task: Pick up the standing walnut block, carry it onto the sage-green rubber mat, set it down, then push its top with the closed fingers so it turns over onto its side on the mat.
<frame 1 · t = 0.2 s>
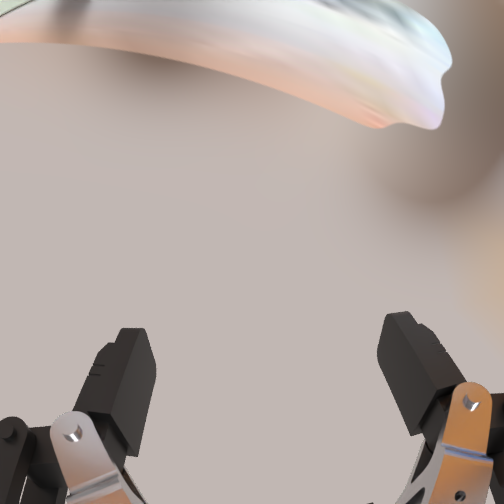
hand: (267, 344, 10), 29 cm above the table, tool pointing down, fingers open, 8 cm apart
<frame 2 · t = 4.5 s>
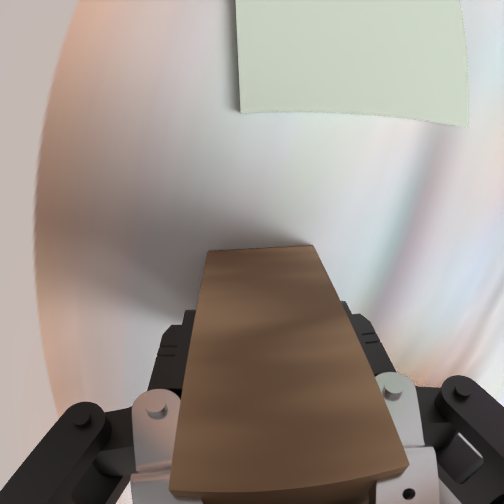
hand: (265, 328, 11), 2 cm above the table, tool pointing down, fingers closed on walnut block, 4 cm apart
walnut block: (262, 293, 13), on the table, touching gripper
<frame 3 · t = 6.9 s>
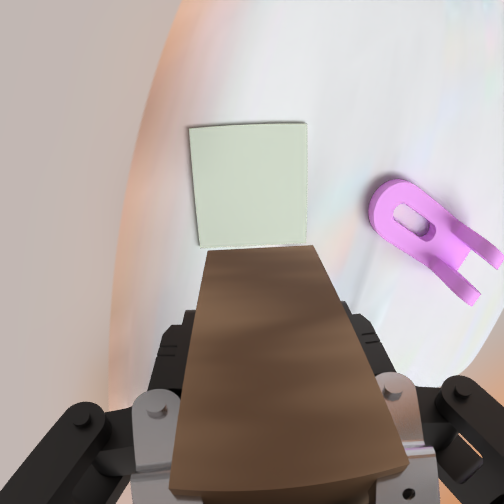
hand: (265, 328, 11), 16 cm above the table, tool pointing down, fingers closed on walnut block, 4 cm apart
walnut block: (262, 292, 13), point 14 cm above the table, touching gripper
bracket: (420, 226, 27), on the table
mat: (250, 186, 25), on the table
when the fingers open (4 cm above the table, at t = 9.4 s): walnut block stays where it is, resting on mat.
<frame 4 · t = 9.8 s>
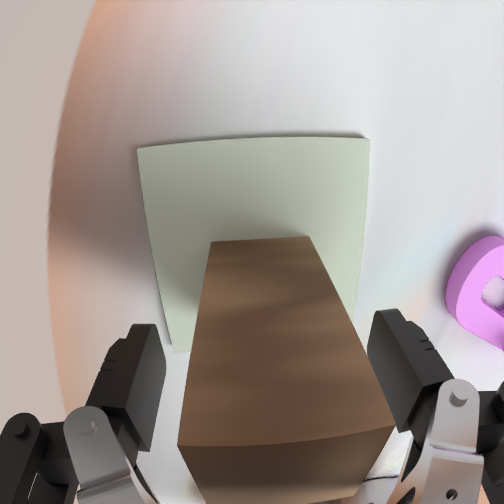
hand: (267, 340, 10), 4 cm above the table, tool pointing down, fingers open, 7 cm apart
walnut block: (261, 281, 14), resting on mat
bracket: (501, 296, 16), on the table
mat: (258, 256, 14), on the table
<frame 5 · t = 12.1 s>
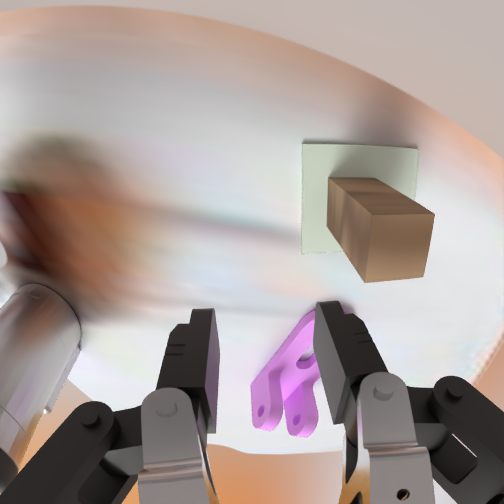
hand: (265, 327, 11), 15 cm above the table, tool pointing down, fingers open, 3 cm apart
walnut block: (351, 201, 24), resting on mat
bracket: (302, 352, 32), on the table
mat: (361, 199, 25), on the table
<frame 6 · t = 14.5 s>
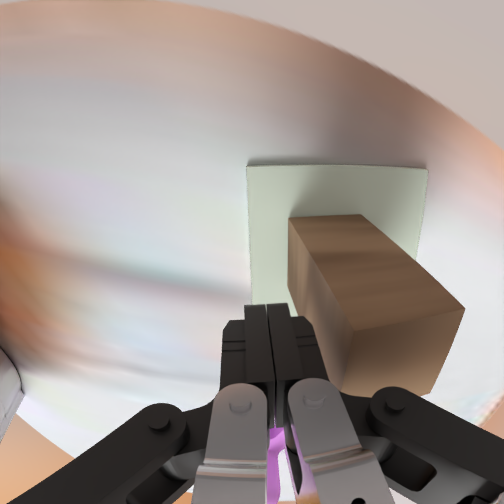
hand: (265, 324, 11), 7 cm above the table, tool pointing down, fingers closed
walnut block: (323, 250, 17), point 1 cm above the table, touching gripper, mat
bracket: (264, 420, 25), on the table
mat: (339, 244, 17), on the table
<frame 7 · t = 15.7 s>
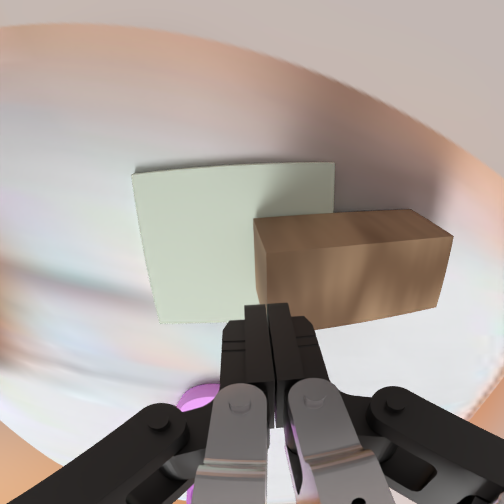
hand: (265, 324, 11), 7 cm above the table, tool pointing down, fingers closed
walnut block: (260, 274, 14), point 3 cm above the table, tilted 95°, touching mat
bracket: (199, 424, 24), on the table
mat: (237, 249, 17), on the table
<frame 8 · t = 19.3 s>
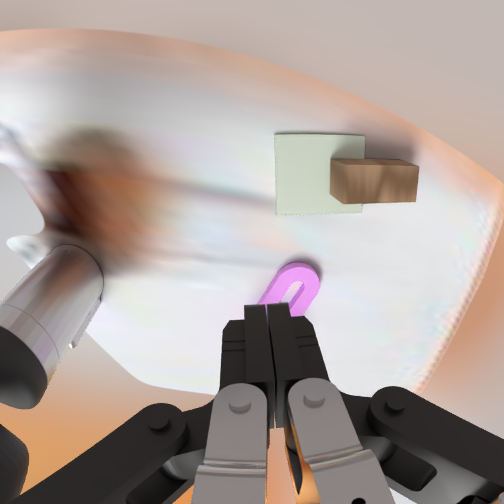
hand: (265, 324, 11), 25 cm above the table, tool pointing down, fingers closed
walnut block: (336, 180, 31), point 3 cm above the table, tilted 95°, touching mat
bracket: (280, 303, 41), on the table
mat: (320, 174, 34), on the table
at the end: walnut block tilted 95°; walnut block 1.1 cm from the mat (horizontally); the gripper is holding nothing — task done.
